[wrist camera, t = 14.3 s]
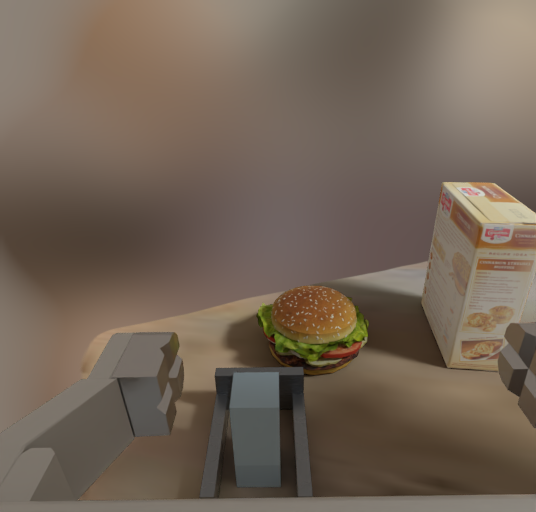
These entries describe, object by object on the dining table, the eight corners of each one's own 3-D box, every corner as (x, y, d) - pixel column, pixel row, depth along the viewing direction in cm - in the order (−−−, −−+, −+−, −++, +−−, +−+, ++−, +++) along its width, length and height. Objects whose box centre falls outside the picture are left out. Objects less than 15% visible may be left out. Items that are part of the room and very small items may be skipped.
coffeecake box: (506, 373, 49) (554, 223, 40) (445, 369, 49) (478, 222, 41) (467, 304, 62) (496, 181, 53) (419, 302, 63) (440, 180, 54)
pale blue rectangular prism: (280, 448, 40) (278, 372, 36) (280, 487, 37) (279, 407, 32) (240, 448, 40) (233, 372, 36) (236, 487, 37) (229, 407, 32)
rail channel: (302, 400, 46) (303, 366, 43) (312, 514, 34) (313, 476, 32) (219, 401, 46) (216, 368, 43) (202, 515, 34) (196, 477, 32)
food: (337, 308, 62) (340, 262, 58) (382, 369, 50) (389, 316, 46) (250, 323, 59) (247, 276, 56) (275, 392, 47) (274, 337, 43)
